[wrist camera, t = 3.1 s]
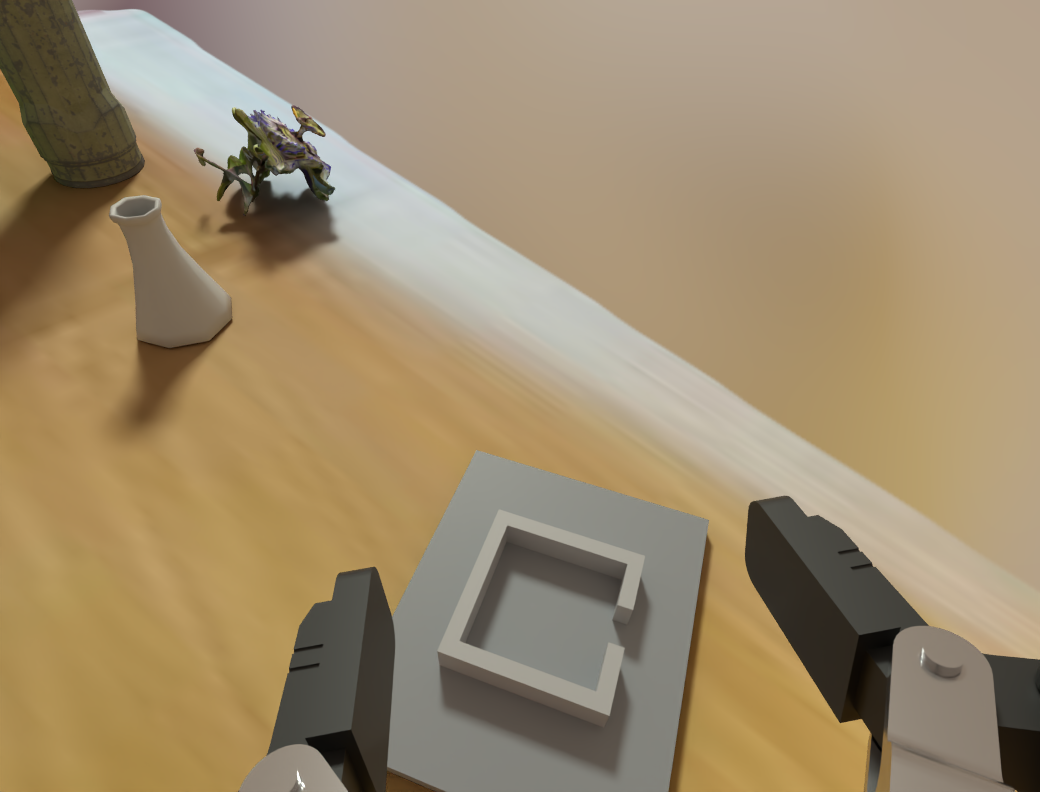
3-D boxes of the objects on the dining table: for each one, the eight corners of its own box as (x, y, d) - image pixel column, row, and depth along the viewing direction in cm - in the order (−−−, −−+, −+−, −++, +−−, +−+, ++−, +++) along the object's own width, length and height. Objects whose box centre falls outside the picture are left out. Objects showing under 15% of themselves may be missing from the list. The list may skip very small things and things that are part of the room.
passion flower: (329, 241, 67) (365, 177, 57) (229, 261, 60) (251, 191, 51) (284, 152, 67) (313, 73, 58) (180, 162, 61) (193, 74, 51)
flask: (246, 293, 51) (206, 182, 44) (218, 351, 46) (169, 236, 39) (158, 291, 51) (103, 179, 44) (121, 350, 46) (52, 234, 39)
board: (650, 882, 25) (664, 875, 23) (333, 747, 28) (321, 730, 26) (704, 528, 37) (717, 503, 35) (476, 459, 40) (476, 432, 38)
